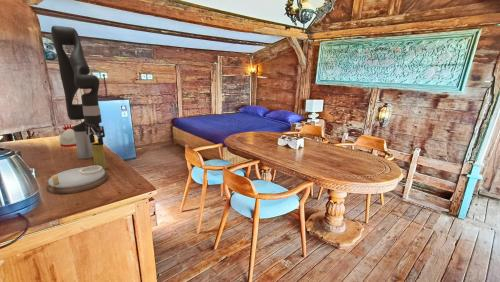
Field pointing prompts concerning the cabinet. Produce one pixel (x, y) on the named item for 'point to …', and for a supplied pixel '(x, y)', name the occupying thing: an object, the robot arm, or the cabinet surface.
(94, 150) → the vase
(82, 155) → the robot arm
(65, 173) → the turntable
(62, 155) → the cabinet surface
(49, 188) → the turntable base
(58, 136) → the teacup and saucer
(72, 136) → the kitchen timer
